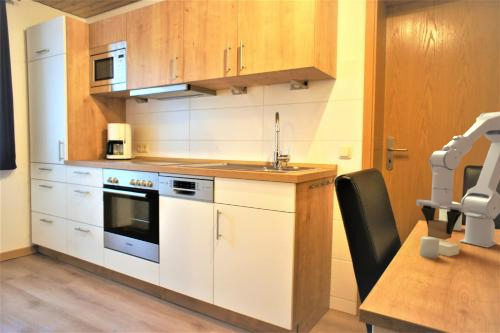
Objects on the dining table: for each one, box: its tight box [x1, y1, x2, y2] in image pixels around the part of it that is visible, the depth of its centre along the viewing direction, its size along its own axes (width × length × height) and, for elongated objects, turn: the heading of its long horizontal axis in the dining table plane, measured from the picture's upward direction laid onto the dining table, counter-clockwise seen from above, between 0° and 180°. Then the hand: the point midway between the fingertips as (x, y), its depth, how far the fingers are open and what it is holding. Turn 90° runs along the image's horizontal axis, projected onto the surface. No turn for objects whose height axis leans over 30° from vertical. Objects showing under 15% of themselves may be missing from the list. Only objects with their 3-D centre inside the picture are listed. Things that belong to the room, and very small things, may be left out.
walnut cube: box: [427, 218, 453, 241], centre depth 103 cm, size 5×5×5 cm
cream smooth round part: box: [419, 235, 440, 260], centre depth 91 cm, size 4×4×5 cm
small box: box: [438, 201, 463, 232], centre depth 130 cm, size 8×6×10 cm
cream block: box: [439, 239, 460, 257], centre depth 95 cm, size 6×6×3 cm
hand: (439, 231), depth 103 cm, fingers closed on walnut cube, 5 cm apart
